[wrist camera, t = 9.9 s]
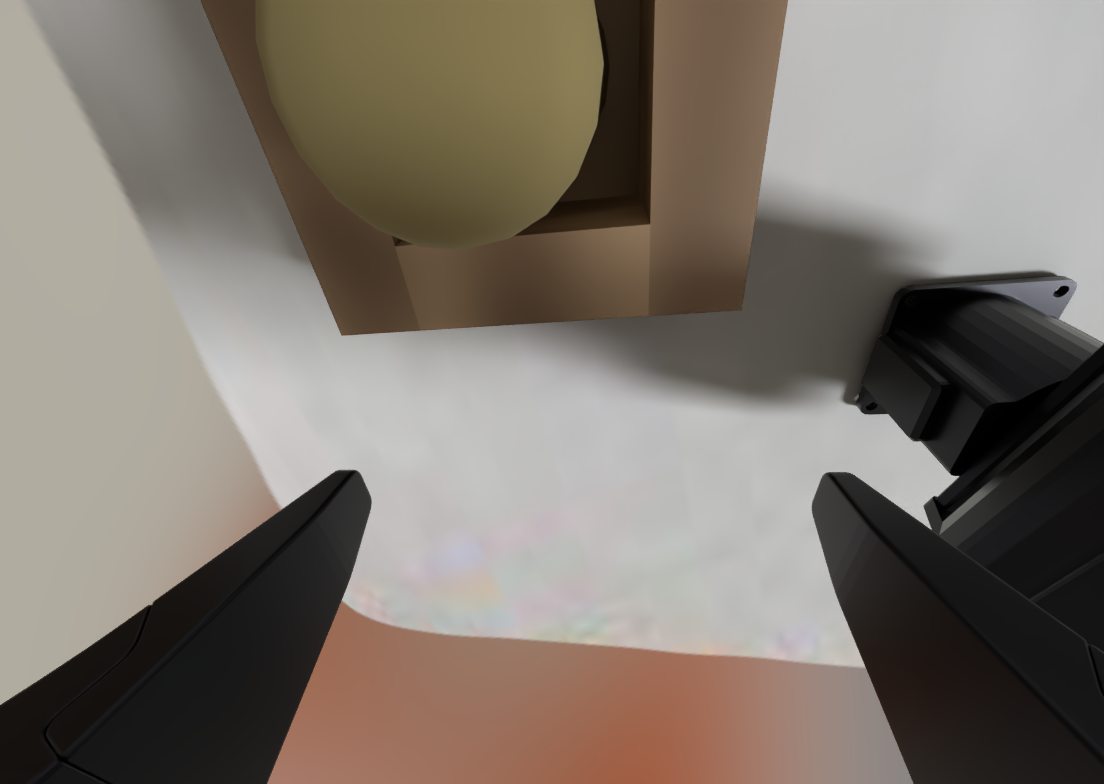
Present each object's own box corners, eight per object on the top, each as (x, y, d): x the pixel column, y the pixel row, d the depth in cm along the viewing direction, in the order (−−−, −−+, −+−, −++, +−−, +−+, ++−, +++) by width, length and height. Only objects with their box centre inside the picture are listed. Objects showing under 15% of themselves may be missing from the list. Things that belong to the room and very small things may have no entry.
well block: (764, -316, 11) (870, -550, 7) (708, 258, 19) (741, 310, 15) (234, -200, 12) (61, -332, 8) (391, 283, 20) (341, 335, 16)
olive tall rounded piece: (389, 16, 14) (40, -84, 5) (567, -99, 12) (507, -544, 3) (480, 204, 17) (362, 347, 8) (633, 133, 15) (693, 216, 7)
